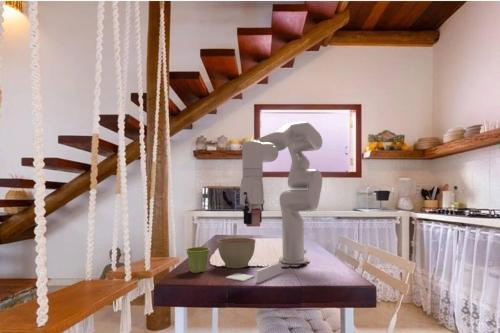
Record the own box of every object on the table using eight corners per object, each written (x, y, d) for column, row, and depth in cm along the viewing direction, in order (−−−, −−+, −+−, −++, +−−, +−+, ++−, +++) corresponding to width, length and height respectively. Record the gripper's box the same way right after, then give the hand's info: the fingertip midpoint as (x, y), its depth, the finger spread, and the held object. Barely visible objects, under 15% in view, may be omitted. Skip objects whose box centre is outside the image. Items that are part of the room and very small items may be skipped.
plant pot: (205, 274, 125) (205, 251, 125) (181, 273, 127) (182, 250, 127) (212, 268, 134) (212, 247, 134) (191, 267, 136) (191, 246, 136)
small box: (246, 226, 118) (246, 204, 119) (245, 225, 122) (245, 204, 123) (260, 226, 119) (260, 204, 119) (259, 225, 123) (259, 204, 123)
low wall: (279, 272, 127) (279, 262, 127) (281, 272, 126) (281, 262, 126) (256, 282, 113) (256, 270, 114) (259, 282, 113) (258, 271, 113)
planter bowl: (258, 262, 144) (258, 237, 145) (251, 271, 129) (251, 243, 129) (223, 261, 148) (223, 236, 148) (212, 270, 132) (212, 242, 133)
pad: (237, 274, 125) (237, 273, 125) (254, 277, 120) (254, 275, 120) (225, 278, 119) (225, 277, 119) (243, 281, 115) (243, 280, 115)
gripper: (255, 175, 131) (256, 221, 130) (230, 173, 117) (230, 224, 115) (272, 175, 127) (272, 221, 126) (248, 172, 113) (248, 225, 111)
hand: (252, 222), depth 121 cm, fingers closed on small box, 6 cm apart
